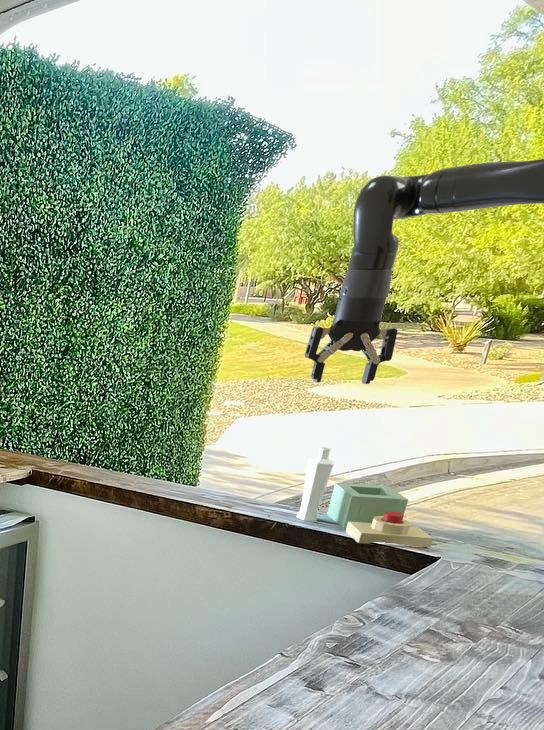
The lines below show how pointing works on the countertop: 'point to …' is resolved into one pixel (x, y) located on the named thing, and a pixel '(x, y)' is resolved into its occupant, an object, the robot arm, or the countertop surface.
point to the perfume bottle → (315, 484)
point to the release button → (393, 517)
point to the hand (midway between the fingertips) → (340, 382)
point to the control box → (388, 533)
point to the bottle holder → (363, 503)
